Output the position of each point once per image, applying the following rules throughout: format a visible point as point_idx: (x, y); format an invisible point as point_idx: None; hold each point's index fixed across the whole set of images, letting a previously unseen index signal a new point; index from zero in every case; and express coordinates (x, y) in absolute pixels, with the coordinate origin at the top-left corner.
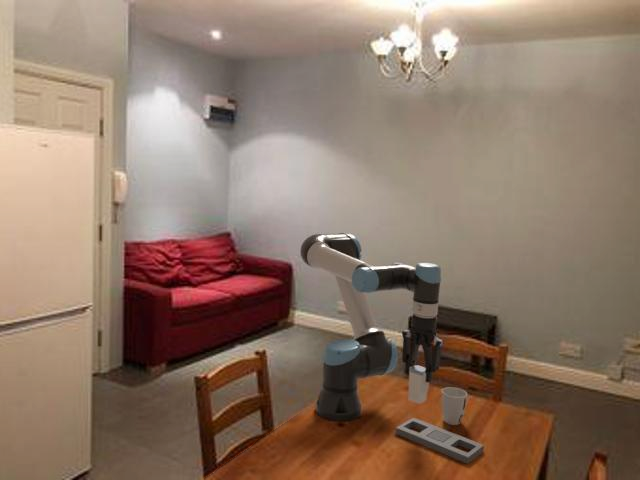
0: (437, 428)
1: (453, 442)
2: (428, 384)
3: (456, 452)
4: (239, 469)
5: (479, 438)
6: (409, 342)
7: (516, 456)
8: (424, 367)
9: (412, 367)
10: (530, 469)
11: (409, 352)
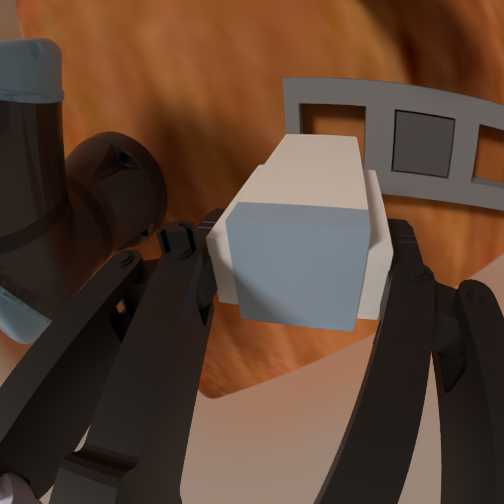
0: (394, 93)
1: (473, 157)
2: (379, 191)
3: (492, 208)
4: (212, 391)
5: (493, 34)
6: (36, 424)
7: None
8: (315, 232)
9: (238, 299)
10: None
11: (96, 324)
